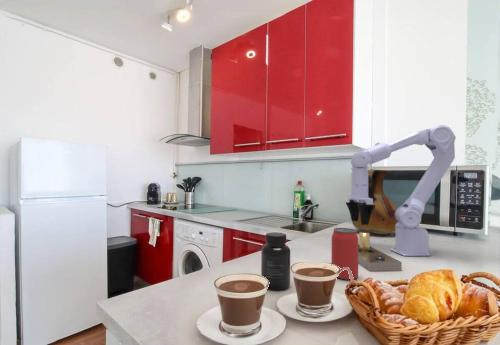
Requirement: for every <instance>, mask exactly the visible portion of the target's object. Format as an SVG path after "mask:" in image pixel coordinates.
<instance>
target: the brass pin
mask: <svg viewBox="0 0 500 345" xmlns="http://www.w3.org/2000/svg"><path fill="white" fill-rule="evenodd" d="M370 233H371V232H367V231H359V237H358V245H359V252H360V253H370V247H371V246H370V243H371V242H370V240H371V239H370V238H371V237H370V236H371V235H370Z"/></svg>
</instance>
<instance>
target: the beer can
mask: <svg viewBox="0 0 500 345" xmlns="http://www.w3.org/2000/svg"><path fill="white" fill-rule="evenodd" d="M358 245H359V237H358V233H357V230H356V229H354V228H350V227H349V228H348V227H336V228H333V233H332V235H331V265H332V264H335V265H337V266H339V267H340V268H343V267H349V268H350V270H351V271H352V274H353V277H354V279H353V280H356V279H357V278H359V264H358ZM338 279H340V280H344V281H347V280H348V281H350V280H349V274H348V271H347V270H344V271H342V272H341V273H340V274H339V276H338Z"/></svg>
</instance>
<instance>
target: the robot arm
mask: <svg viewBox="0 0 500 345" xmlns="http://www.w3.org/2000/svg"><path fill="white" fill-rule="evenodd" d="M456 138H457V137H456V134H455V133H454V131H453V130H452V128H451V127H449V126H447V125H444V124H438V125H436V126H435V127H433V128H432V127H429V128H426V129H422V130H420V131H416V132H414V133H410V134H409V135H407V136H404V137H402V138H399V139H397V140H394V141H393V142H390V143H385V142H379V141H378V142H376V143H375V144H374V145H373V146H369V147H368V148H362V149H361V150H358V151H357V152H354V153H353V155H352V156H351V158H350V164H351V175H350V176H351V180H350V181H351V182H350V184H351V186H350V187H351V188H350V190H351V191H350V192H351V194H350V195H347V196H348V197H347V198H348V200H347V202H346V201H345V205H346V206H347V209H348V211H349V215H350V219H351V222H352V221H358V218H359V211H360V217H361V224H362V225H368V223H369V220H370V216H371V213H372V211H373V210H374V208H375V205H373V199H371V198H369V197H368V170H369V168H368V165H373V164H376V163H378V162H381V161H383V160H386V159H389V158H390V157H391V154H392V153H394V152H397V151H399V150H403V149H404V148H407V147H410V146H413V145H417V146H423V145H424V146H425V147H426V148H428V150H430V152H431V154H432V156H433V159H432V160H431V163H430V164H429V166H428V167H427V169H426V171H425V172H424V174H423V175H422V176H421V179H420V180H419V182H418V184H417V185H416V186H415V188H414V189H413V191H412V193H411V194H410V196H409V198H407V199H406V200H405V201H404V203H403V204H402V205H401V206H399V207H396V209H397V210H396V211H395V218H396V219H397V221H398V222H397V224H396V231H395V248H392V247H391V248H389V250H390V251H393V252H395V253H397V254H399V255H401V256H403V257H413V256H417V257H419V256H420V257H421V256H422V257H424V256H427V257H429V256H431V253H430V238H429V237H430V236H429V232H428V230H427V229H426V228H424V227H421V226H420V224H421V222H422V215H423V213H424V212H425V206H426V204H427V202H428V200H430V198H431V197H432V194H433V193H434V192H435V189H436V188H437V187H438V186H439V183H440V182H441V180H442V179H443V177H444V176H445V174H446V173H447V171H448V170H449V168H450V166H451V165H452V163H453V162H454V160H455V158H456V154H455V152H456V151H455V141H456ZM362 201H363V202H362ZM362 203H363V204H362Z"/></svg>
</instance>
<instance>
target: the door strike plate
mask: <svg viewBox="0 0 500 345" xmlns="http://www.w3.org/2000/svg"><path fill="white" fill-rule="evenodd" d="M358 265H360V266H362V268H364V269H366V270H367V271H369V272H402V271H403V270H402V266H403V265H402V261H400V260H398V259H396V258H394V257H392V256H390V255H388V254H387V253H384V252H382V251H380V250H379V249H376V248H374V247H372V246H370V253H360V252H359V244H358Z"/></svg>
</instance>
